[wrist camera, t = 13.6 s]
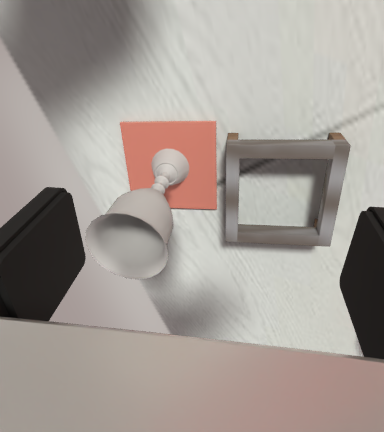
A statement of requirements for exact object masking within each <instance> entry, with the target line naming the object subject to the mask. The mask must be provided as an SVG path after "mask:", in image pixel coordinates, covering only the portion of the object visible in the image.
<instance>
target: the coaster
mask: <svg viewBox="0 0 384 432" xmlns="http://www.w3.org/2000/svg"><path fill="white" fill-rule="evenodd" d="M120 126H121V133H122V139H123V146H124V152H125V158H126V165H127V171H128V177H129V184H130V190H131V191H133V190H137V189H142V188H151V186H152V185H153V184H155V182H154V181H155V176H154V174H153V171H152V165H151V163H152V159H153V157H154V155H155V154H156V153H157V152H159V151H160V150H163V149H174V150H177V151H179V152H180V153H182V154H183V155H184V156H185V158H186V159H187V161H188V163H189V173H188V176H187V177H186V179H185V180H184V181H182V182H181V183H178V184H175V185H171V186H168V188H166V189H165V193H164V194H163V195H164V197H165V198H166V200H167V202H168V204H169V206H170V208H190V209H217V169H216V121H155V122H120Z"/></svg>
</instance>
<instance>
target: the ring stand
mask: <svg viewBox="0 0 384 432" xmlns="http://www.w3.org/2000/svg"><path fill="white" fill-rule="evenodd" d="M350 146H351V145H350V144H349V143H348V142H347V140H346V139H345V138H344V137H343V136H342V134H341V133H329V138H328V140H238V133H228V138H227V144H226V242H243V243H265V244H287V245H309V246H330V244H331V239H332V235H333V230H334V225H335V220H336V215H337V210H338V205H339V200H340V195H341V190H342V186H343V181H344V176H345V171H346V166H347V161H348V156H349V151H350ZM240 158H263V159H328V163H327V169H326V175H325V180H324V186H323V192H322V198H321V204H320V210H319V215H318V219H315V222H314V227H296V226H269V225H243V224H238V203H239V167H240Z"/></svg>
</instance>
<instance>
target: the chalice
mask: <svg viewBox="0 0 384 432" xmlns="http://www.w3.org/2000/svg"><path fill="white" fill-rule="evenodd" d="M151 165H152V171H153V174H154V176H155V181H154V182H155V184H153V185H152V186H151V188H142V189H137V190H133V191H130V192H127V193H125V194H123V195H121V196H120V197H118V198H117V199H116V201H115V202H114V203H113V205H112V206H111V207H110V209H109V210H108V211H107V213H106V214H105V215H101V216H100V217H98V218H96V219H95V220H93V221H92V222H91V224H90V225H89V227H88V228H87V231H86V243H87V247H88V250H89V252H90V253H91V254H92V256H93V258H94V259H95V260H96V261H97V262H98V263H99V264H100V265H101V266H102V267H103V268H105V269H107V270H108V271H110V272H112V273H113V274H116V275H119V276H122V277H125V278H130V279H145V278H150V277H152V276H155V275H157V274H159V273H160V272H161V271H162V269H163V268H164V267H165V266H166V263H167V259H168V251H167V243H168V240H169V237H170V235H171V232H172V228H173V217H172V212H171V208H170V206H169V204H168V202H167V200H166V198H165V197H164V195H163V194H164V193H165V189H166V188H168V186H171V185H175V184H178V183H181V182H182V181H184V180H185V179H186V177H187V176H188V173H189V163H188V161H187V159H186V158H185V156H184V155H183V154H182V153H180V152H179V151H177V150H174V149H163V150H160V151H159V152H157V153H156V154H155V155H154V157H153V159H152V163H151Z"/></svg>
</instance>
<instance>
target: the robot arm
mask: <svg viewBox="0 0 384 432" xmlns="http://www.w3.org/2000/svg"><path fill="white" fill-rule="evenodd" d="M84 263H85V252H84V247H83V243H82V238H81V234H80V229H79V225H78V221H77V216H76V212H75V207H74V203H73V199H72V195H71V194H70V193H67V191H66V190H65V189H64V188H52V187H47V188H45V189H44V190H43V191H41V192H40V193H39V194H38V195H37V196H36V197H35V198H33V199H32V200H31V201H30V202H29V203H28V204H27V205H26V206H25V207H23V208H22V209H21V210H20V211H19V212H18V213H17V214H16V215H14V216H13V217H12V218H11V219H10V220H9V221H8V222H7V223H6V224H5V225H3V226H2V227H1V228H0V432H384V208H382V207H369V208H368V209H367V211H362V212H361V213H360V216H359V219H358V222H357V225H356V228H355V231H354V235H353V238H352V241H351V244H350V247H349V251H348V254H347V257H346V260H345V263H344V267H343V270H342V273H341V276H340V288H341V291H342V294H343V297H344V300H345V303H346V306H347V309H348V312H349V314H350V317H351V320H352V323H353V326H354V329H355V332H356V335H357V338H358V340H359V343H360V346H361V349H362V352H363V355H364V357H361V356H352V355H344V354H336V353H329V352H320V351H312V350H303V349H294V348H286V347H277V346H268V345H260V344H251V343H243V342H234V341H225V340H216V339H207V338H198V337H189V336H180V335H171V334H161V333H153V332H144V331H134V330H125V329H116V328H106V327H97V326H87V325H78V324H68V323H59V322H49V320H50V318H51V316H52V315H53V313H54V312H55V310H56V309H57V307H58V305H59V304H60V302H61V301H62V299H63V297H64V296H65V294H66V293H67V291H68V289H69V288H70V286H71V285H72V283H73V281H74V280H75V278H76V277H77V275H78V274H79V272H80V270H81V269H82V267H83V265H84Z"/></svg>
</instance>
